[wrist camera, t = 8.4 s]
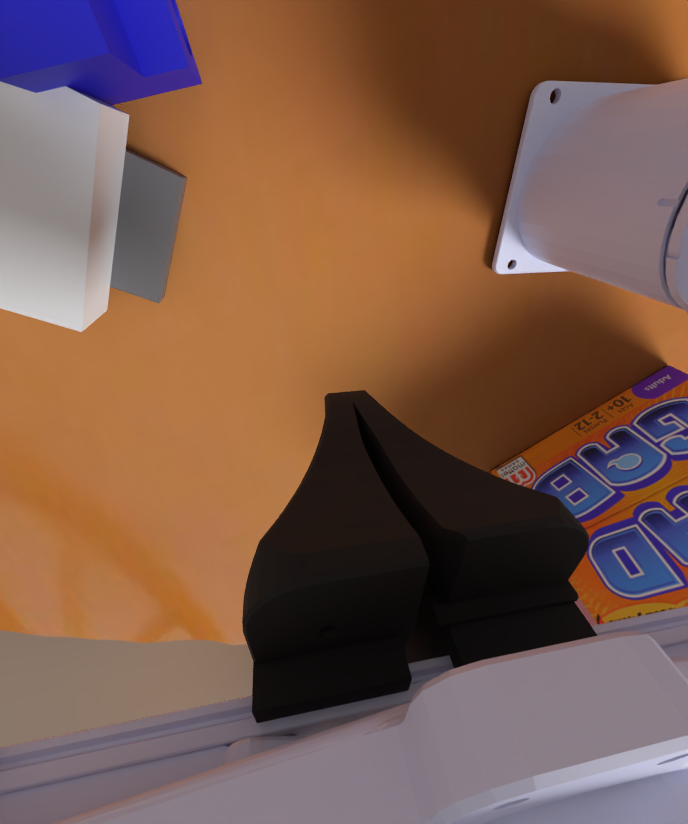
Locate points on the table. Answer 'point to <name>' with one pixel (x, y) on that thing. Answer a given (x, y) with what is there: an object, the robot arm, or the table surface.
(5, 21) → the blue piece
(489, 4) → the table surface
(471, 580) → the robot arm
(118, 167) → the shaft rig
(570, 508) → the game box
